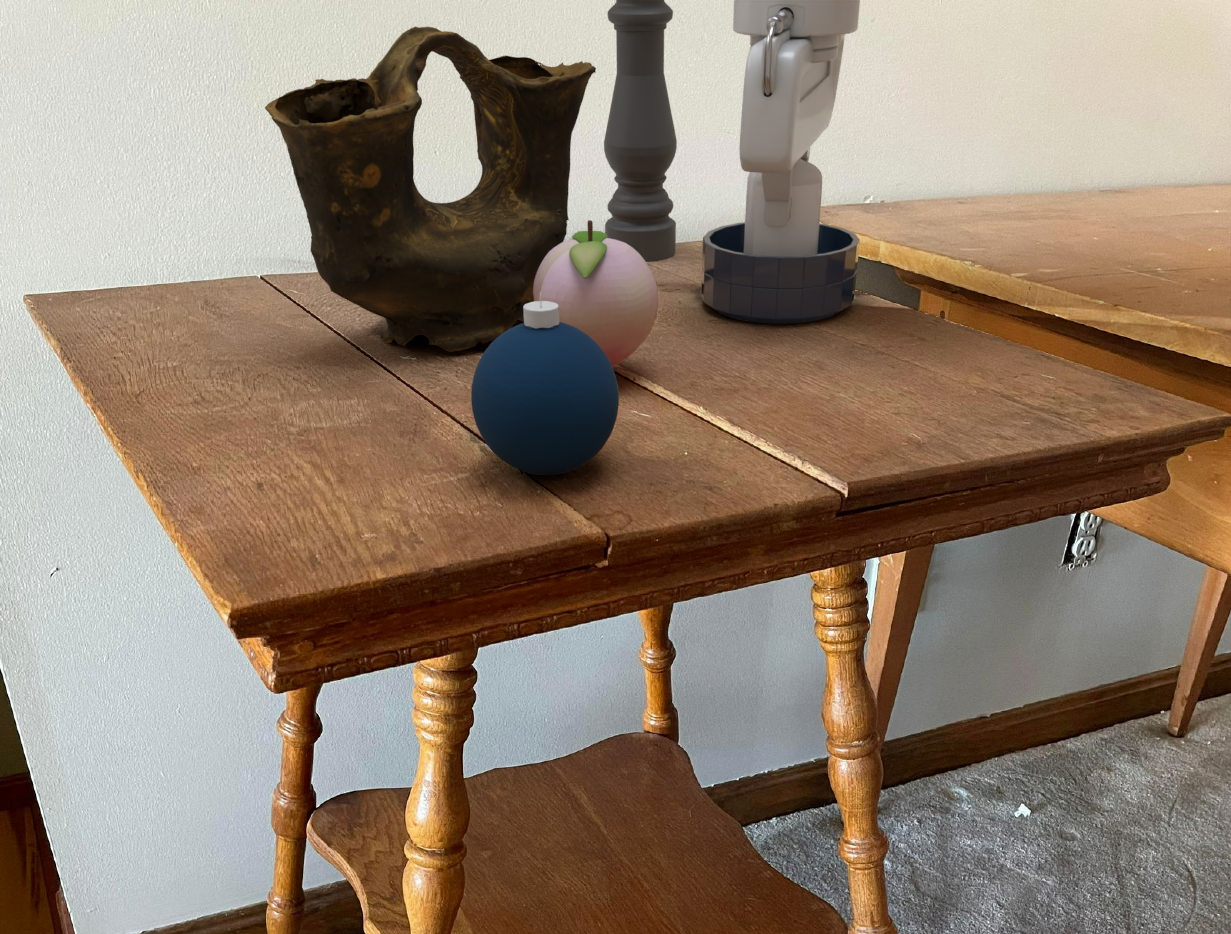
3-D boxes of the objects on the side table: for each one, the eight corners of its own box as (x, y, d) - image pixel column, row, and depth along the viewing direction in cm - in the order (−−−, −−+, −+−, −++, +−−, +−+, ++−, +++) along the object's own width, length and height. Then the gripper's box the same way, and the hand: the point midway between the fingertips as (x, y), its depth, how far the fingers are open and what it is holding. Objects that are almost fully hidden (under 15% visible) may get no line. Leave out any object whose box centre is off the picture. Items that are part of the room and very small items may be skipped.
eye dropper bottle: (807, 287, 97) (820, 111, 90) (736, 282, 99) (744, 108, 92) (820, 273, 101) (833, 102, 93) (751, 268, 102) (760, 99, 95)
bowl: (861, 289, 104) (868, 224, 101) (841, 332, 95) (847, 261, 92) (719, 281, 107) (721, 217, 104) (686, 321, 98) (687, 252, 95)
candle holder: (595, 269, 110) (587, -81, 95) (619, 252, 115) (616, -85, 100) (662, 275, 109) (665, -82, 93) (684, 257, 113) (690, -85, 98)
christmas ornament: (625, 495, 71) (623, 311, 65) (476, 501, 71) (461, 317, 65) (613, 441, 78) (611, 269, 72) (477, 446, 78) (464, 274, 71)
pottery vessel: (545, 287, 106) (532, 7, 94) (630, 315, 99) (629, 17, 87) (279, 352, 93) (225, 36, 81) (357, 388, 86) (311, 51, 74)
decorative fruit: (669, 394, 85) (671, 233, 79) (547, 402, 84) (540, 240, 78) (643, 351, 92) (643, 202, 86) (532, 358, 91) (524, 207, 85)
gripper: (818, 18, 80) (802, 251, 88) (859, -10, 96) (842, 190, 104) (721, 17, 81) (714, 246, 90) (777, -10, 97) (767, 187, 105)
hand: (783, 216), depth 97 cm, fingers closed on eye dropper bottle, 4 cm apart
